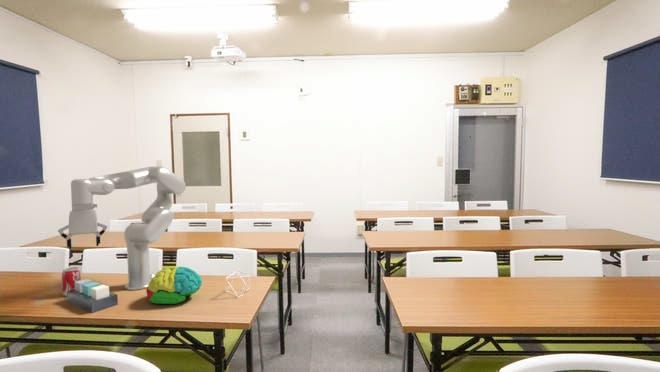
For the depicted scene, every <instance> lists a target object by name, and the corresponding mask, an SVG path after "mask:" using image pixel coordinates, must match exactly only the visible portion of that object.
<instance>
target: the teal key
mask: <svg viewBox="0 0 660 372" xmlns="http://www.w3.org/2000/svg"><path fill="white" fill-rule="evenodd" d="M100 285H102V284H101V283H100V282H97V281H92V282H91V283H87V284H83V285H82V289H83V295H84V296H87V297H88V296H91V289H90V288H93V287H96V286H100Z"/></svg>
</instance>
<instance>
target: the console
mask: <svg viewBox="0 0 660 372" xmlns="http://www.w3.org/2000/svg"><path fill="white" fill-rule="evenodd" d="M66 300H67V302H68V303H70V304H72V305H74V306H76V307H79V308H81V309H83V310H84V311H87V312H90V313H91V314H93V313H97V312H99V311H103V310H105V309H109V308H111V307H115V306H118V304H119V303H118V301H119V300H118V293H115V292H112V291H110V290H109V296H108V297H105V298H101V299H98V300H94V299H91V296H88V297H87V296H84V295H83V292H82V293H77V292H75V289H74V290H70V291H67V296H66Z"/></svg>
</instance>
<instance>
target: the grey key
mask: <svg viewBox="0 0 660 372" xmlns="http://www.w3.org/2000/svg"><path fill="white" fill-rule="evenodd" d="M91 282H93V280H92V279H89V278H84V279H81V280H80V281H76V282H75V292H77V293H82V292H83V289H82V285H83V284H87V283H91Z"/></svg>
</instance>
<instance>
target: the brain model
mask: <svg viewBox="0 0 660 372" xmlns="http://www.w3.org/2000/svg"><path fill="white" fill-rule="evenodd" d="M155 274H156V275H155ZM155 274H154V275H155V276H154V277H153V278H152V280H151V281H150V283H149V285H148V287H147V288H145V289H146V290H145V291H146V292H145V293H146V296H147V300H148V301H149V302H150V303H151V304H156V305H157V304H158V305H159V304H163V305H176V304H180V303H183V302H184V301H185V300H186V298H187V297H189V296H191V295H193V294H195V293H197V292H198V291H199V290H200V288H201V286H202V285H203V280H202V276H200V274H199V273H197V272H196V271H195V270H194V269H192V268H190V267H187V266H176V265H175V266H168V267H164V268H161V270H159V271H157V272H156V273H155Z"/></svg>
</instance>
